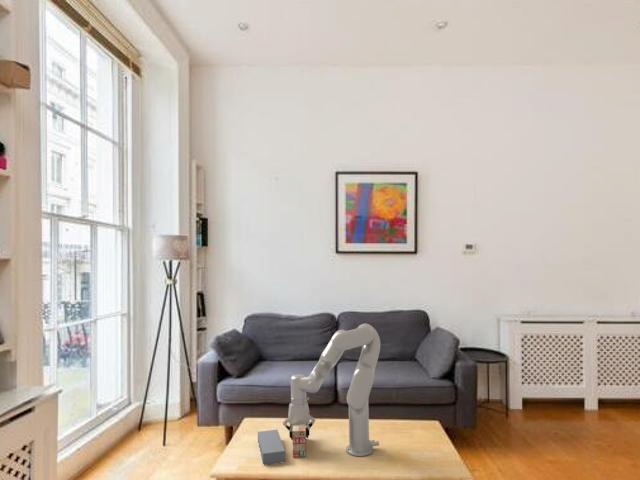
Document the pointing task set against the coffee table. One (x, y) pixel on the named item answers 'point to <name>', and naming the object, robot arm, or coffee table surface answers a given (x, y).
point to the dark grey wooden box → (271, 447)
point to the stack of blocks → (299, 440)
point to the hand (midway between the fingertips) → (299, 437)
